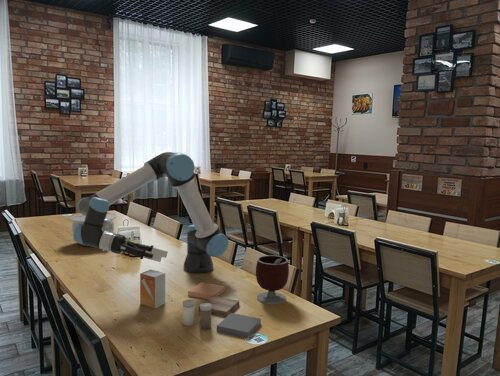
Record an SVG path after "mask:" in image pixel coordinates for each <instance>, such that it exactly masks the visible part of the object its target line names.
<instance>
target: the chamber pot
mask: <svg viewBox="0 0 500 376" xmlns="http://www.w3.org/2000/svg"><path fill="white" fill-rule="evenodd" d="M85 217H86V216H85V215H82V214H81V213H79V214H74V215H72V216H69V218H68V220H69V221H71V222H73V223H72V224H71V233H72V235H73V234H74V231H75V229H76V227H77V225H79V224H83V223H84V221H85ZM117 217H118V216H117V215H116V214H113V213H110V212H107V215H106V218H105V222H104V225H103V228H102V230H105V231H109V232H113V233H115V232H114V231H115V223H114V221H113V220H114V219H116V218H117ZM78 244H79V245H81V246H85V247H89V246H88V245H83V244H81V243H78Z"/></svg>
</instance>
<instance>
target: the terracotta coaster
mask: <svg viewBox="0 0 500 376" xmlns="http://www.w3.org/2000/svg"><path fill="white" fill-rule="evenodd" d="M224 292H226V286H224V285H219V284H215V283H207V282H203V281H202V282H200V283H198V284H196V285H195V286H193V287H192V288H190V289H189V290H187V296H189V297H194V298H199V299H203V300H204V299H205V300H208V299H209V298H210V297H212V296H217V297H220V296H221V295H222V294H223V293H224Z"/></svg>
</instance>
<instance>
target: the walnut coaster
mask: <svg viewBox="0 0 500 376" xmlns="http://www.w3.org/2000/svg"><path fill="white" fill-rule="evenodd" d="M203 303H210V304H211V305H212V309H211V315H216V316H222V317H224V318H226V317H227V316H228V315H229V314H230V313H233V311H234V310H236V308H238V307H239V306H240V300H238V299H233V298H227V297H222V296H218V297H217V296H212V297H210V298H209V299H205V301H203ZM198 312H200V305H198Z"/></svg>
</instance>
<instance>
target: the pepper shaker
mask: <svg viewBox="0 0 500 376" xmlns="http://www.w3.org/2000/svg"><path fill="white" fill-rule="evenodd" d="M199 306H200V311H199V328H200V329H201V330H204V331H207V330H210V329H211V328H212V314H211V309H212V305H211V304H210V303H204V302H203V303H200V305H199Z"/></svg>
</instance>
